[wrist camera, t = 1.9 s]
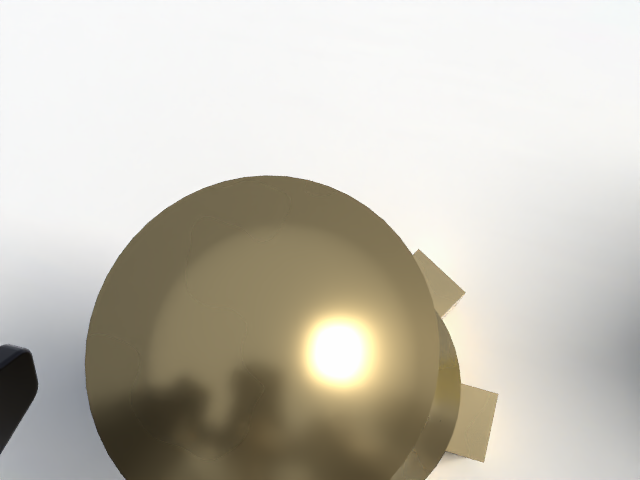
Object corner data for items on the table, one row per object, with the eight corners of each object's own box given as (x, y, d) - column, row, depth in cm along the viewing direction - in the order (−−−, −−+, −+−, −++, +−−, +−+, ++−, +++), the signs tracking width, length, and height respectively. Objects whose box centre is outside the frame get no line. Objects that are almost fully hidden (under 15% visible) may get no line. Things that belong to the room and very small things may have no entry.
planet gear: (519, 500, 17) (827, 712, 5) (230, 572, 17) (-91, 926, 5) (429, 216, 19) (502, -68, 8) (179, 282, 19) (-114, 102, 8)
